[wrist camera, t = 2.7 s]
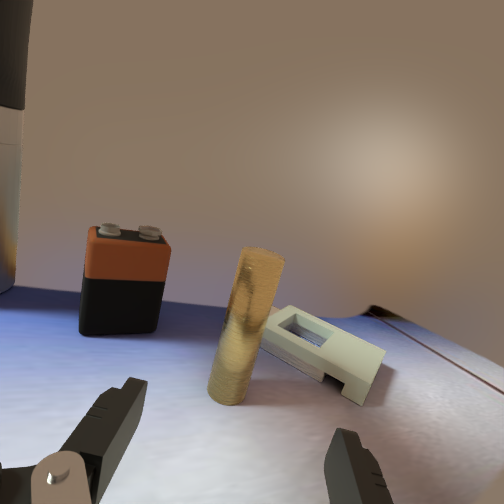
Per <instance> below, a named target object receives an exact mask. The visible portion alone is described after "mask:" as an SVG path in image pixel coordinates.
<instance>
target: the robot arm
mask: <svg viewBox="0 0 504 504" xmlns="http://www.w3.org/2000/svg"><path fill="white" fill-rule="evenodd" d="M32 7H33V0H0V293H2V292H4V291H6V290H8V289H9V288H10V287H12V286H13V284H14V282H15V271H16V254H17V242H18V241H17V240H18V223H19V205H20V187H21V167H22V148H23V145H22V144H23V128H24V111H23V110H24V109H25V87H26V71H27V55H28V42H29V33H30V23H31V15H32ZM147 384H148V382H147V381H145V380H140V379H136V378H132V377H129V378H128V379H127V381H126V382H125V384H124V385H123V387H122V388H121V389H118V388H114V387H111V388H110V389H108V390H107V391H105V392H104V393H102V394H101V395H100V396H99V397H98V399H97V400H96V401H95V403H94V404H93V406H92V407H91V408H90V409H89V411H88V412H87V413H86V416H84V417H83V419H82V420H81V422H80V423H79V424H78V426H77V427H76V428H75V430H74V431H73V432H72V434H71V435H70V436H69V438H68V439H67V440H66V442H65V443H64V445H63V446H62V447H61V449H60V450H59V451H58V452H56V453H53V454H51V455H49V456H47V457H46V458H44V459H43V460H42V461H40V462H39V463H38V464H37V465H33V466H29V467H19V468H6V469H2V466H1V463H0V504H99V502H100V500H101V498H102V496H103V494H104V492H105V490H106V489H107V487H108V485H109V483H110V481H111V479H112V477H113V475H114V473H115V471H116V469H117V467H118V465H119V463H120V461H121V459H122V457H123V455H124V453H125V451H126V449H127V447H128V445H129V443H130V441H131V439H132V437H133V435H134V433H135V431H136V429H137V426H138V424H139V421H140V418H141V415H142V411H143V406H144V401H145V395H146V390H147ZM324 473H325V479H326V484H327V489H328V494H329V499H330V504H394V503H393V501H392V498H391V495H390V493H389V490H388V489H387V485H386V482H385V480H384V478H383V475H382V472H381V469H380V467H379V464H378V462H377V460H376V459H375V458H374V456H373V455H372V454H371V452H370V451H369V450H368V449H365V448H363V447H362V445H361V442H360V439H359V436H358V434H357V433H356V432H354V431H349V430H345V429H341V428H337V429H336V431H335V433H334V436H333V439H332V441H331V444H330V446H329V449H328V452H327V454H326V457H325V463H324Z"/></svg>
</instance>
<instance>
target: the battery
mask: <svg viewBox="0 0 504 504" xmlns="http://www.w3.org/2000/svg"><path fill="white" fill-rule="evenodd" d="M170 255H171V247H170V246H169V244H168V243H167V241H166V240H165V238H164V237H163V236H162V231H161V229H160V228H156V227H152V226H139V231H133V230H124V229H120V226H119V225H116V224H112V223H102V224H101V227H98V226H93V227H90V228H89V231H88V238H87V248H86V256H85V264H84V273H83V282H82V290H81V299H80V307H79V333H80V334H82V335H98V334H126V333H151V332H154V331H155V330H156V328H157V323H158V318H159V313H160V307H161V302H162V296H163V292H164V286H165V281H166V275H167V270H168V266H169V260H170Z"/></svg>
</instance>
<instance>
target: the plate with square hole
mask: <svg viewBox="0 0 504 504" xmlns="http://www.w3.org/2000/svg"><path fill="white" fill-rule="evenodd" d="M292 322H294V323H296V324H298V325H300V326H302V327H304V328H306V329H308V330H310V331H312V332H314V333H316V334H318V335H320V336H322V337H324V338H326V339H328V340H327V341H326V342H325V343H324V344H323V345H322V346H321V347H320V348H319V347H317V346H315V345H313V344H311V343H309V342H307V341H305V340H304V339H302V338H300V337H298V336H296V335H294V334H292V333H290V332H288V331H287V330H285V329H283V328H285V327H286V326H287V325H289V324H290V323H292ZM263 338H265V339H267V340H269V341H270V342H272V343H274V344H276V345H277V346H279V347H281V348H283V349H285V350H286V351H288V352H290V353H292V354H293V355H295V356H297V357H299V358H301V359H302V360H304V361H306V362H308V363H309V364H311V365H313V366H315V367H316V368H318V369H320V370H322V371H324V372H325V373H327V374H329V375H331V376H332V377H334V378H336V379H338V380H340V381H341V382H343V383H345V385H344V387H343V390H342V392H341V395H343V396H345V397H346V398H348V399H350V400H352V401H353V402H355V403H357V404H358V405H360V406H362V405H363V403H364V401H365V399H366V396H367V394H368V392H369V390H370V387H371V385H372V383H373V381H374V378H375V376H376V374H377V372H378V369H379V367H380V365H381V362H382V360H383V357H384V355H385V353H386V351H385V350H383V349H381V348H379V347H376V346H374V345H372V344H370V343H368V342H366V341H364V340H362V339H360V338H358V337H356V336H354V335H352V334H350V333H347V332H345V331H343V330H341V329H339V328H337V327H335V326H333V325H331V324H329V323H327V322H325V321H323V320H321V319H318V318H316V317H314V316H312V315H310V314H308V313H306V312H304V311H302V310H300V309H298V308H295V307H294V306H291V305H289V306H287V307H285V308H284V309H282V310H280V311H278V312H277V313H275V314H273V315H271V316H270V317H268V320H267V324H266V327H265V330H264V334H263Z"/></svg>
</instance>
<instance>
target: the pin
mask: <svg viewBox="0 0 504 504" xmlns="http://www.w3.org/2000/svg"><path fill="white" fill-rule="evenodd" d="M284 262H285V259H284V258H283V257H282V256H280V255H279V254H277V253H274V252H272V251H269V250H266V249H262V248H257V247H244V248H243V249H242V252H241V256H240V259H239V263H238V267H237V271H236V275H235V279H234V283H233V287H232V291H231V295H230V299H229V303H228V307H227V311H226V315H225V319H224V322H223V326H222V330H221V334H220V338H219V342H218V346H217V350H216V354H215V358H214V362H213V366H212V370H211V374H210V378H209V382H208V386H207V391H208V394H209V396H210V397H211V398H212V399H213V400H214V401H216V402H218V403H220V404H223V405H229V406H232V405H237V404H239V403H241V402H242V401H243V400H244V398H245V395H246V392H247V388H248V385H249V381H250V378H251V375H252V371H253V368H254V364H255V361H256V358H257V354H258V351H259V347H260V344H261V341H262V337H263V334H264V330H265V327H266V324H267V320H268V317H269V313H270V310H271V307H272V303H273V300H274V296H275V293H276V290H277V286H278V283H279V279H280V276H281V272H282V269H283V266H284Z"/></svg>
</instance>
